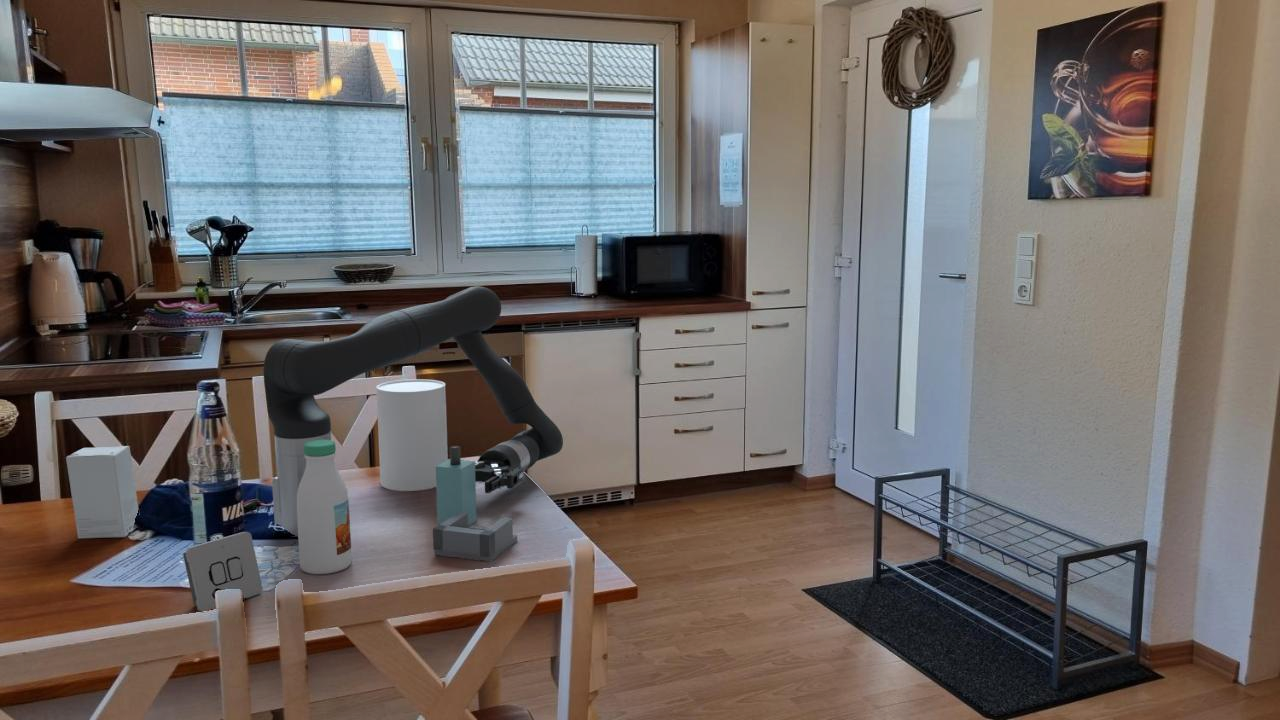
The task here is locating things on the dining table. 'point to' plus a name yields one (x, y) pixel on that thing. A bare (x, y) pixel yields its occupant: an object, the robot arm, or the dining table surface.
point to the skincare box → (103, 491)
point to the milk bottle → (323, 512)
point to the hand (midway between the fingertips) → (465, 485)
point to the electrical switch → (222, 568)
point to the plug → (456, 487)
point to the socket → (472, 538)
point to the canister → (411, 433)
